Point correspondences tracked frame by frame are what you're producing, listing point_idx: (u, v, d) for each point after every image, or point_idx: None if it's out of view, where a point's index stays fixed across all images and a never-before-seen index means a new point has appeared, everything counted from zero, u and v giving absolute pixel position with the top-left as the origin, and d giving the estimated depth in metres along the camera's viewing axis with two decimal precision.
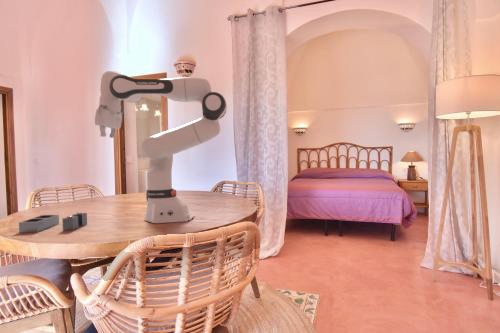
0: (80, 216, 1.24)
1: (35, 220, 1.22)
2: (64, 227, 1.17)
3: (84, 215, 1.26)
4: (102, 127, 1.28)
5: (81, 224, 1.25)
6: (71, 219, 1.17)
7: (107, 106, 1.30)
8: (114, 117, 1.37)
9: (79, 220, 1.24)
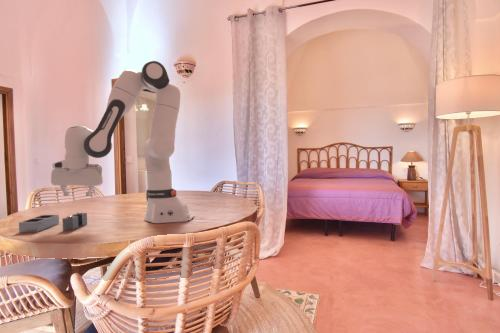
0: (80, 216, 1.24)
1: (35, 220, 1.22)
2: (64, 227, 1.17)
3: (84, 215, 1.26)
4: (92, 186, 1.26)
5: (81, 224, 1.25)
6: (71, 219, 1.17)
7: None
8: None
9: (79, 220, 1.24)
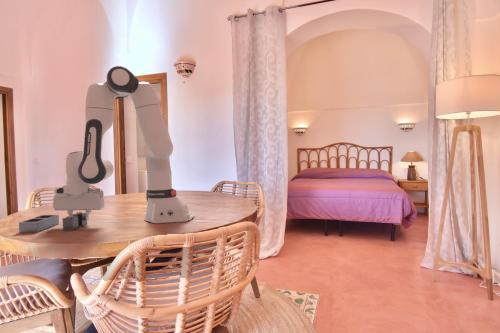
0: (80, 216, 1.24)
1: (35, 220, 1.22)
2: (64, 227, 1.17)
3: (84, 215, 1.26)
4: (90, 211, 1.26)
5: (81, 224, 1.25)
6: (71, 219, 1.17)
7: None
8: None
9: (79, 220, 1.24)
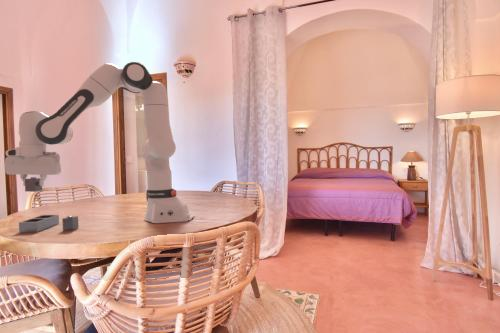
0: (33, 180, 1.16)
1: (35, 220, 1.22)
2: (64, 227, 1.17)
3: (38, 180, 1.18)
4: (45, 176, 1.18)
5: (34, 189, 1.17)
6: (71, 219, 1.17)
7: None
8: None
9: (32, 185, 1.16)
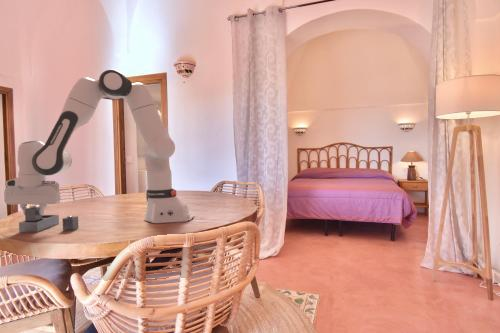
0: (33, 210, 1.17)
1: None
2: (64, 227, 1.17)
3: (38, 209, 1.19)
4: (44, 205, 1.19)
5: (34, 219, 1.17)
6: (71, 219, 1.17)
7: (44, 181, 1.19)
8: None
9: (32, 214, 1.17)
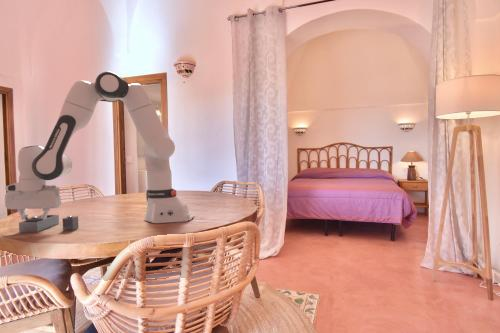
0: (34, 220, 1.17)
1: None
2: (64, 227, 1.17)
3: (39, 219, 1.19)
4: (48, 209, 1.19)
5: None
6: (71, 219, 1.17)
7: None
8: None
9: None
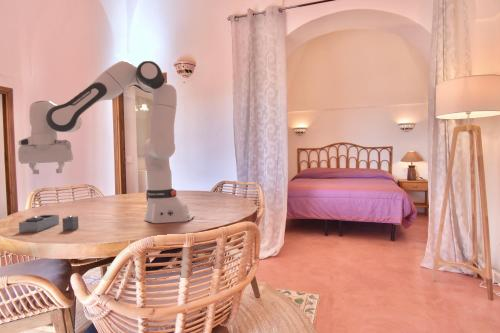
0: (34, 220, 1.17)
1: None
2: (64, 227, 1.17)
3: (39, 219, 1.19)
4: (62, 163, 1.22)
5: None
6: (71, 219, 1.17)
7: None
8: None
9: None
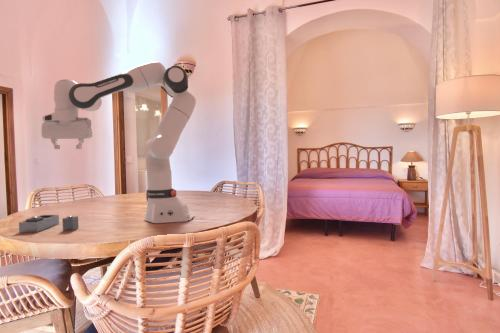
0: (34, 220, 1.17)
1: None
2: (64, 227, 1.17)
3: (39, 219, 1.19)
4: (82, 139, 1.29)
5: None
6: (71, 219, 1.17)
7: (77, 118, 1.29)
8: None
9: None
